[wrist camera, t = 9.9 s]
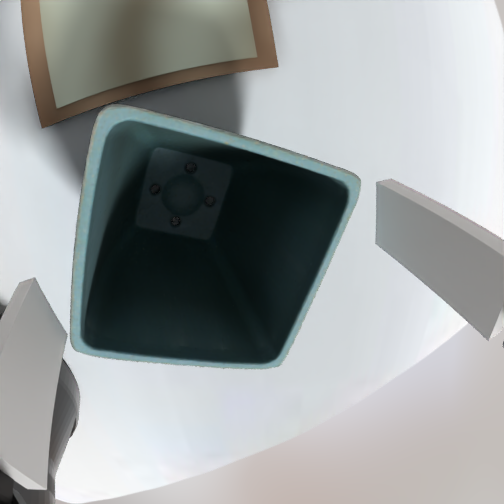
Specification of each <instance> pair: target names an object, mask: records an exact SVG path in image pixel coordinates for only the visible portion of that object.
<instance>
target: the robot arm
mask: <svg viewBox="0 0 504 504" xmlns="http://www.w3.org/2000/svg"><path fill="white" fill-rule="evenodd" d="M375 244H376V245H378V246H379V247H380V248H382V249H383V250H384V251H385V252H387V253H388V254H389V255H390V256H392V257H393V258H394V259H395V260H397V261H398V262H399V263H400V264H401V265H403V266H404V267H405V268H406V269H408V270H409V271H410V272H411V273H412V274H414V275H415V276H416V277H417V278H418V279H420V280H421V281H422V282H423V283H424V284H425V285H427V286H428V287H429V288H430V289H431V290H432V291H434V292H435V293H436V294H437V295H438V296H439V297H441V298H442V299H443V300H444V301H445V302H446V303H447V304H449V305H450V306H451V307H452V308H453V309H454V310H455V311H456V312H457V313H459V314H460V315H461V316H462V317H463V318H464V319H465V320H466V321H467V322H468V323H470V324H471V325H472V326H473V327H474V328H475V329H476V330H477V331H478V332H479V333H480V334H481V335H482V336H483V337H484V338H486V339H487V340H488V341H489V340H490V339H492V338H493V337H494V336H495V335H497V334H498V333H499V332H501V331H502V329H503V326H504V240H503V239H501V238H500V237H498V236H497V235H495V234H493V233H492V232H490V231H489V230H487V229H485V228H484V227H482V226H480V225H478V224H477V223H475V222H473V221H471V220H470V219H468V218H466V217H464V216H463V215H461V214H459V213H457V212H455V211H454V210H452V209H450V208H448V207H446V206H444V205H443V204H441V203H439V202H437V201H435V200H433V199H431V198H429V197H427V196H425V195H423V194H422V193H420V192H418V191H416V190H414V189H412V188H409V187H407V186H405V185H403V184H401V183H399V182H397V181H395V180H393V179H388V180H383V181H379V182H376V243H375ZM67 335H68V334H67V333H66V331H65V330H64V328H63V326H62V325H61V323H60V321H59V320H58V318H57V316H56V315H55V313H54V311H53V310H52V308H51V306H50V304H49V303H48V301H47V299H46V297H45V295H44V294H43V292H42V290H41V288H40V286H39V284H38V282H37V281H36V279H35V278H32V279H29V280H26V281H23V282H20V283H19V284H18V286H17V288H16V290H15V292H14V294H13V296H12V298H11V299H10V301H9V303H8V305H7V307H6V309H5V311H4V313H3V316H0V504H55V475H56V472H57V469H58V466H59V464H60V461H61V459H62V456H63V454H64V451H65V448H66V446H67V443H68V440H69V438H70V437H71V436H72V435H73V433H74V431H75V429H76V427H77V424H78V419H79V406H80V392H79V388H78V385H77V382H76V380H75V378H74V376H73V374H72V372H71V371H70V369H69V368H68V366H67V365H66V364H65V362H64V361H63V360H62V358H63V353H64V348H65V344H66V339H67ZM503 348H504V342H503Z"/></svg>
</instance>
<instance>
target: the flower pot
mask: <svg viewBox="0 0 504 504" xmlns="http://www.w3.org/2000/svg"><path fill="white" fill-rule="evenodd" d="M190 163H193V164H194V165H195V170H194V171H192V172H189V171H187V169H186V166H187V164H190ZM153 185H158V186H159V187H160V191H159V192H158V193H156V194H155V193H152V191H151V187H152V186H153ZM360 187H361V180H360V178H359V177H358V176H357V175H356V174H354V173H352V172H350V171H348V170H345V169H343V168H340V167H336V166H333V165H330V164H328V163H325V162H322V161H319V160H317V159H314V158H311V157H308V156H305V155H302V154H299V153H296V152H293V151H290V150H287V149H284V148H281V147H278V146H275V145H271V144H268V143H265V142H262V141H259V140H256V139H252V138H249V137H246V136H243V135H239V134H236V133H233V132H229V131H226V130H222V129H218V128H215V127H211V126H208V125H204V124H200V123H197V122H193V121H189V120H185V119H182V118H178V117H174V116H170V115H166V114H162V113H157V112H154V111H150V110H147V109H143V108H139V107H134V106H129V105H123V104H111V105H107V106H106V107H104V108H103V109H102V110H101V111H100V112H99V114H98V115H97V118H96V121H95V123H94V126H93V130H92V134H91V139H90V144H89V150H88V154H87V159H86V165H85V171H84V176H83V181H82V189H81V195H80V202H79V209H78V216H77V224H76V237H75V245H74V255H73V267H72V285H71V305H70V306H71V310H70V341H71V345H72V347H73V349H74V350H75V351H77V352H80V353H83V354H86V355H90V356H95V357H99V358H100V357H102V358H108V359H116V360H125V361H136V362H147V363H161V364H171V365H183V366H196V367H197V366H199V367H212V368H223V369H224V368H232V369H269V368H274V367H278V366H280V365H281V364H282V363H283V361H284V360H285V358H286V356H287V355H288V353H289V350H290V348H291V346H292V345H293V343H294V341H295V338H296V336H297V335H298V333H299V330H300V328H301V326H302V323H303V321H304V319H305V317H306V314H307V312H308V310H309V308H310V306H311V304H312V302H313V299H314V297H315V295H316V293H317V291H318V289H319V287H320V285H321V282H322V280H323V278H324V276H325V274H326V271H327V269H328V267H329V264H330V262H331V260H332V258H333V256H334V253H335V251H336V248H337V246H338V244H339V242H340V239H341V237H342V234H343V232H344V230H345V228H346V225H347V223H348V221H349V219H350V217H351V215H352V212H353V210H354V208H355V206H356V204H357V201H358V197H359V193H360ZM209 196H211V197H213V198H214V202H213V204H211V205H208V204H206V202H205V200H206V198H207V197H209ZM174 217H179V218H180V223H179V224H178V225H173V224H172V222H171V220H172V219H173V218H174Z"/></svg>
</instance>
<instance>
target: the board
mask: <svg viewBox="0 0 504 504" xmlns="http://www.w3.org/2000/svg"><path fill="white" fill-rule="evenodd" d="M21 12H22V23H23V32H24V40H25V47H26V54H27V61H28V67H29V72H30V78H31V83H32V88H33V93H34V97H35V102H36V106H37V111H38V115H39V119H40V123H41V127H42V128H45V127H48V126H50V125H52V124H55V123H57V122H60V121H62V120H65V119H67V118H70V117H72V116H75V115H78V114H80V113H83V112H86V111H88V110H91V109H94V108H97V107H100V106H103V105H106V104H109V103H112V102H115V101H118V100H121V99H125V98H128V97H131V96H135V95H138V94H142V93H145V92H149V91H153V90H156V89H160V88H164V87H168V86H172V85H177V84H181V83H185V82H190V81H195V80H199V79H204V78H209V77H215V76H220V75H226V74H232V73H238V72H245V71H252V70H259V69H267V68H275V67H278V61H277V55H276V49H275V43H274V37H273V32H272V26H271V21H270V15H269V10H268V5H267V0H21Z"/></svg>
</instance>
